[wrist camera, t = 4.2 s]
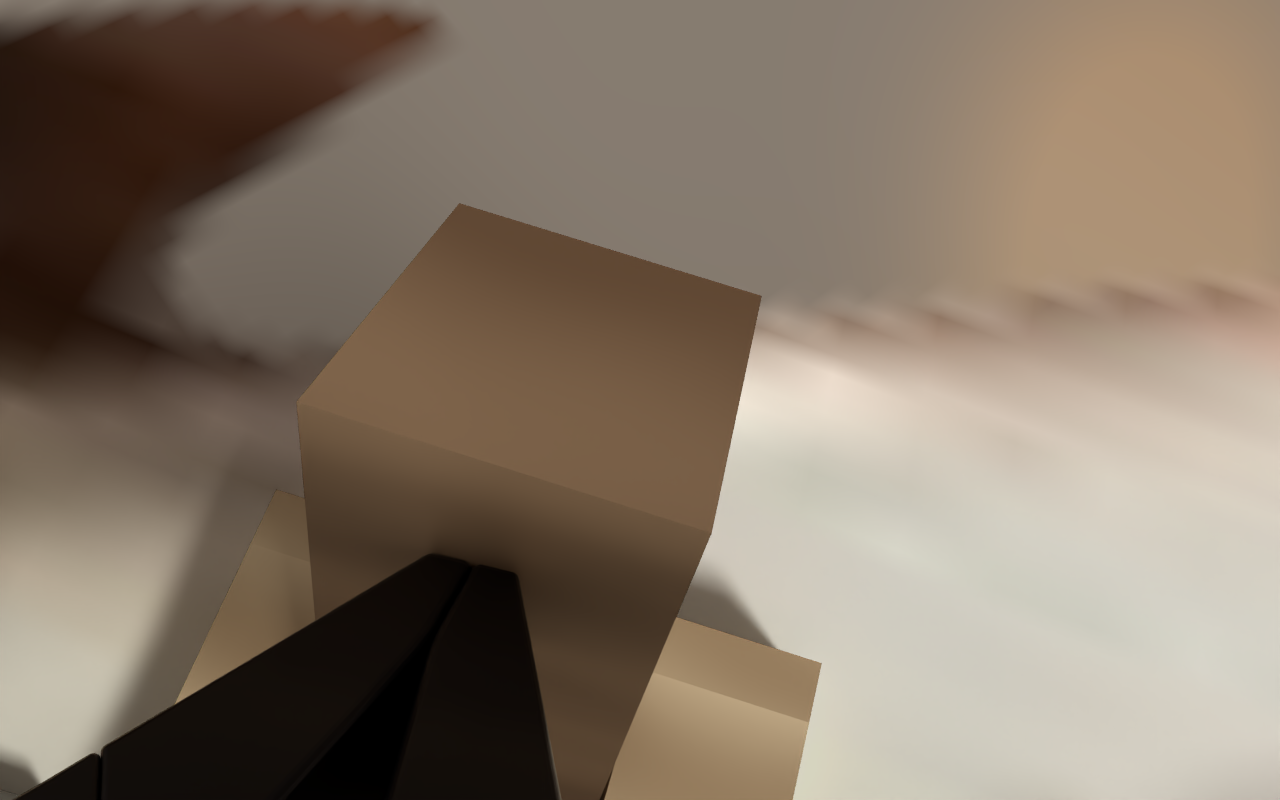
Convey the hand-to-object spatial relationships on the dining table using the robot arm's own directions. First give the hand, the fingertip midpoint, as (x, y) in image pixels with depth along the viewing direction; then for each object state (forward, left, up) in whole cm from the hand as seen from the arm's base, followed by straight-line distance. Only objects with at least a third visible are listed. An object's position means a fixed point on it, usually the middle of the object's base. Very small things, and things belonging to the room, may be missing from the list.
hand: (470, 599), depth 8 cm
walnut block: (0, 0, -4) cm, 4 cm away
